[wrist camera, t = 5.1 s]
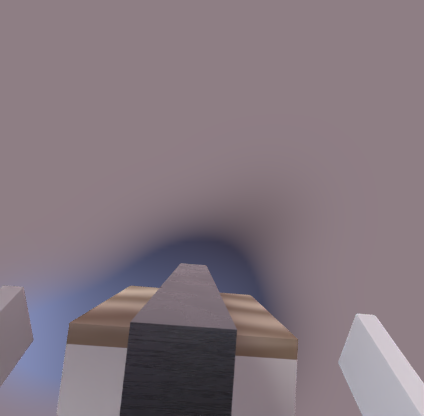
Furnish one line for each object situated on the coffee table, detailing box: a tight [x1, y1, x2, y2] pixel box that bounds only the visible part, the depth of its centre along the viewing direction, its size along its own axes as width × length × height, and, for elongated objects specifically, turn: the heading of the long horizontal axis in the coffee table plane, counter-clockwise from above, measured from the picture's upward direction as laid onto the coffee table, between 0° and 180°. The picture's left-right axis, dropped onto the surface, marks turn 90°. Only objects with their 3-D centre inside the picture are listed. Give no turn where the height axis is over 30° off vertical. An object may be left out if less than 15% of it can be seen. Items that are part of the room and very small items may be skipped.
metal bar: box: [119, 263, 237, 416], centre depth 21 cm, size 26×3×3 cm, turn 3°
